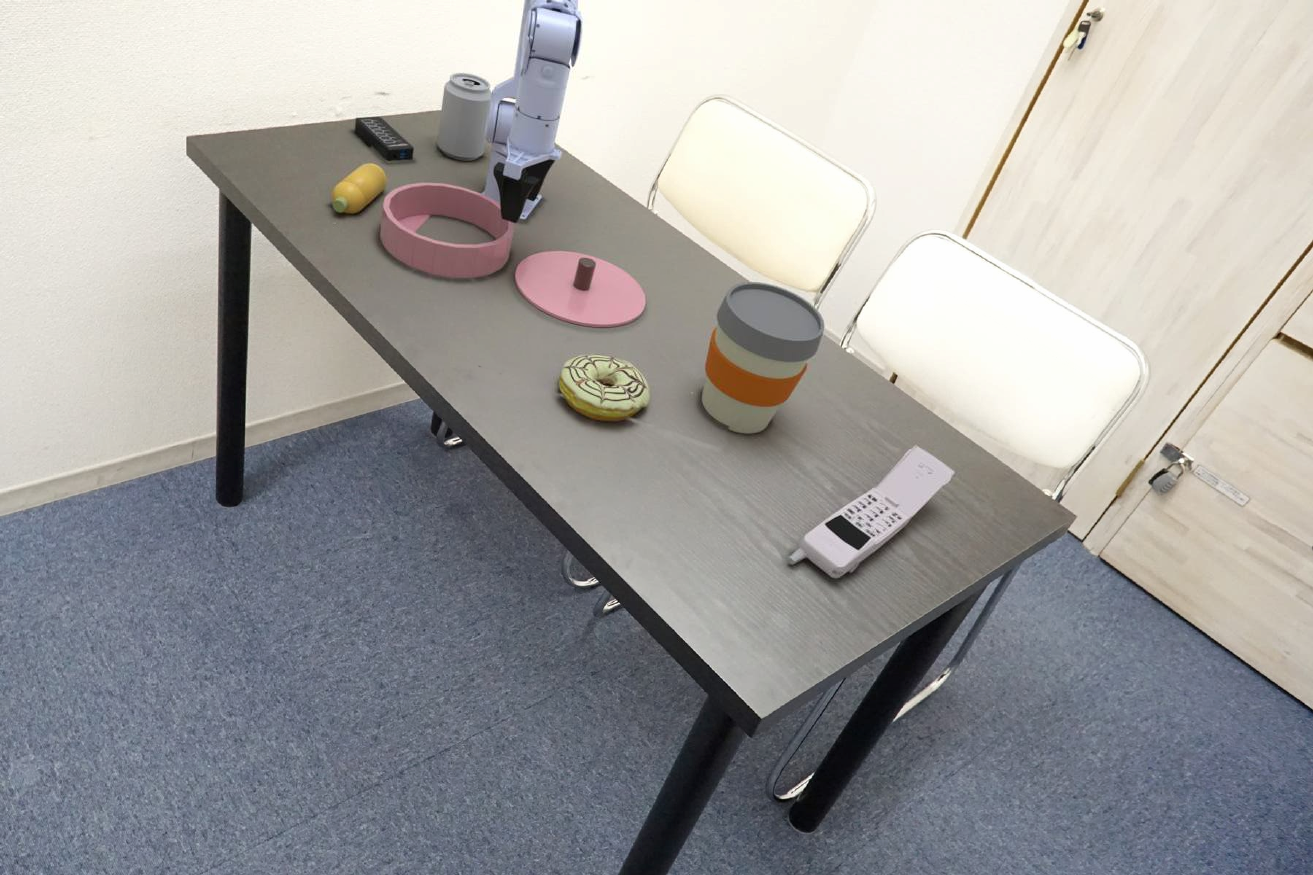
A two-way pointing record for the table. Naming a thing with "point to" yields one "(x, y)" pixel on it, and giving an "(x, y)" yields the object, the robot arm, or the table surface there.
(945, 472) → the mobile phone
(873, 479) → the table surface
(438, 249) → the pot
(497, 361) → the table surface
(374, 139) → the multiport hub
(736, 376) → the reusable coffee cup
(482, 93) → the can
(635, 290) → the lid
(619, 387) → the decorated donut
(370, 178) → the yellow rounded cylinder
